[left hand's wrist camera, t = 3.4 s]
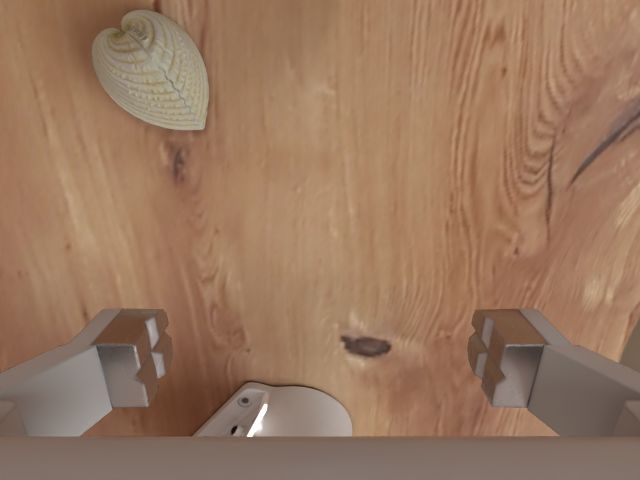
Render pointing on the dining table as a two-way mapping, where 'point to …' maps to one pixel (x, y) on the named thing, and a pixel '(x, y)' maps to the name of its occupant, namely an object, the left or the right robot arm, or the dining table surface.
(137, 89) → the seashell
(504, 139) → the dining table surface
